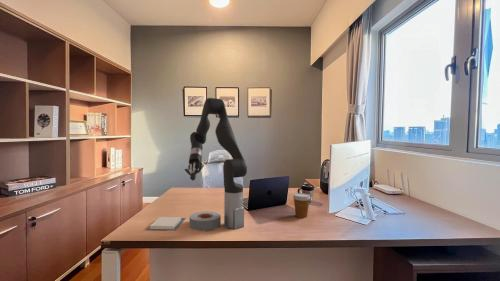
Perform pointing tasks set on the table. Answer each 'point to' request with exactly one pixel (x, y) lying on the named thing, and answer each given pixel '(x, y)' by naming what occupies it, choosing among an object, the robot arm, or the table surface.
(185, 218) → the mat
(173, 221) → the tile
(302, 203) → the disposable coffee cup
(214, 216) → the tape roll
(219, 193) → the table surface
